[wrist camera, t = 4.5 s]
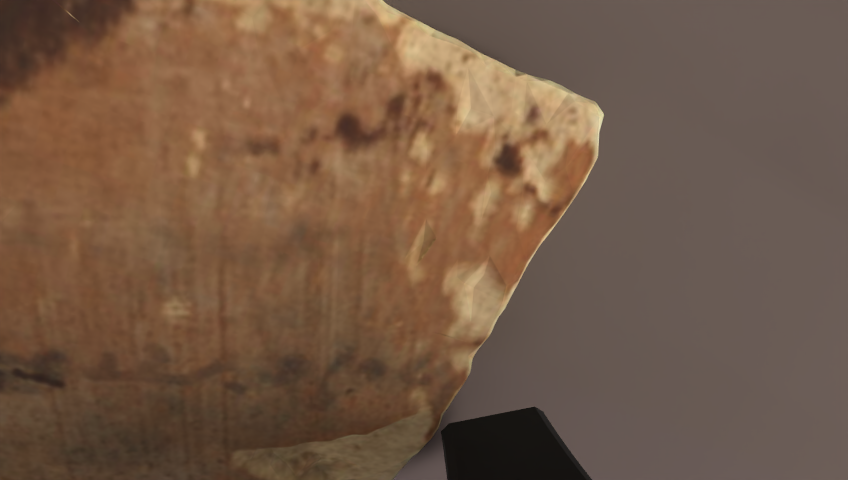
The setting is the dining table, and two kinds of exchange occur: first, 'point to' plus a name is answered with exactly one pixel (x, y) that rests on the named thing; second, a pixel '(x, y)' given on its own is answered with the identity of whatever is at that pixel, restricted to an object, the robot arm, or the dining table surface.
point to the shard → (257, 232)
